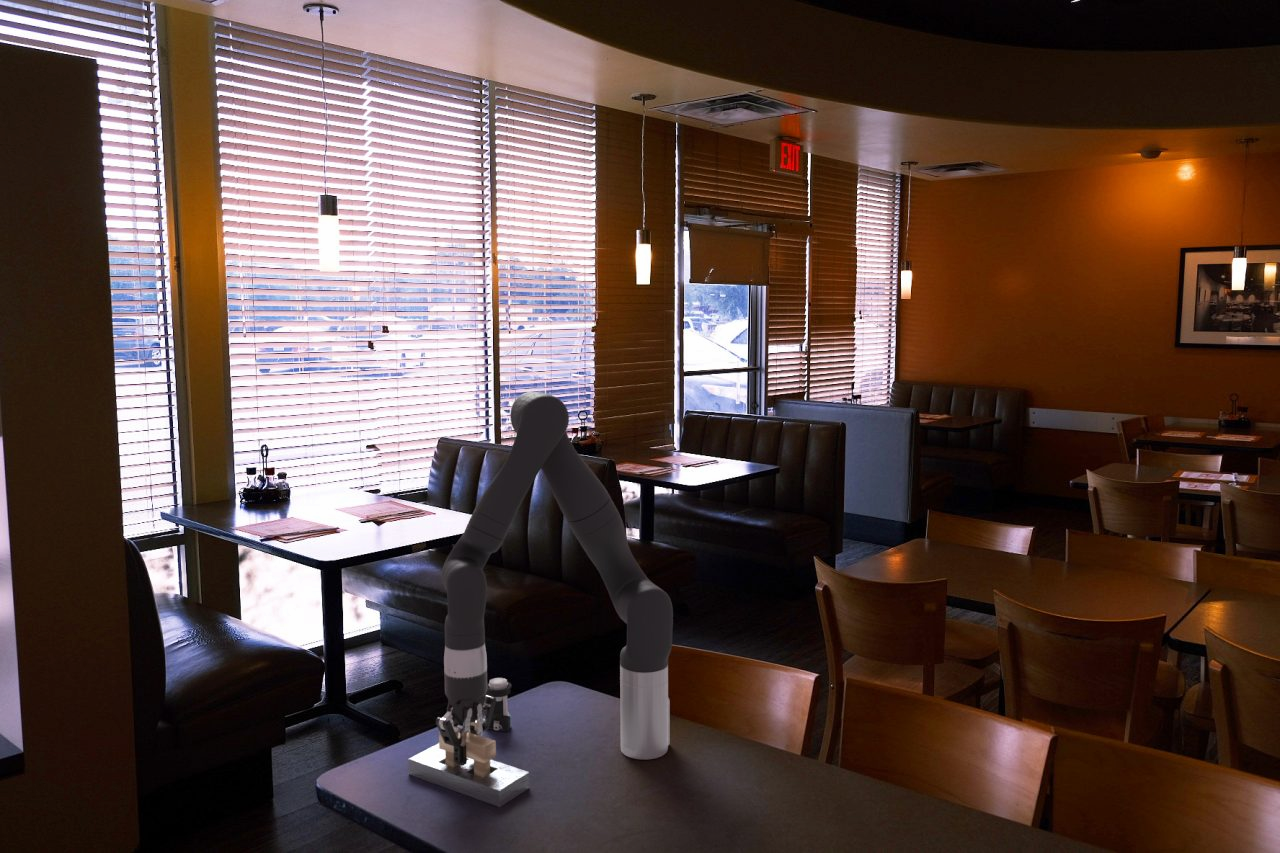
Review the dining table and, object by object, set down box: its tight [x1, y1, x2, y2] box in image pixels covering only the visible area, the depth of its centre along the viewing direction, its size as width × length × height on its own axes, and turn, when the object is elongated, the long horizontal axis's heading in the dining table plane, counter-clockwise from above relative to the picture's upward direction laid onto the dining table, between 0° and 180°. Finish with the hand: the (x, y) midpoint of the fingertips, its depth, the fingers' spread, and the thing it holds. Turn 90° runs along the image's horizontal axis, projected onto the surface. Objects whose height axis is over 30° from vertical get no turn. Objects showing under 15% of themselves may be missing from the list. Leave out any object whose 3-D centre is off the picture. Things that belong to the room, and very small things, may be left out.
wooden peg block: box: [438, 731, 497, 778], centre depth 175 cm, size 3×11×7 cm, turn 57°
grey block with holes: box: [408, 742, 530, 808], centre depth 175 cm, size 8×22×3 cm, turn 57°
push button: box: [483, 677, 512, 732], centre depth 197 cm, size 7×5×10 cm
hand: (467, 759), depth 175 cm, fingers closed on wooden peg block, 3 cm apart
